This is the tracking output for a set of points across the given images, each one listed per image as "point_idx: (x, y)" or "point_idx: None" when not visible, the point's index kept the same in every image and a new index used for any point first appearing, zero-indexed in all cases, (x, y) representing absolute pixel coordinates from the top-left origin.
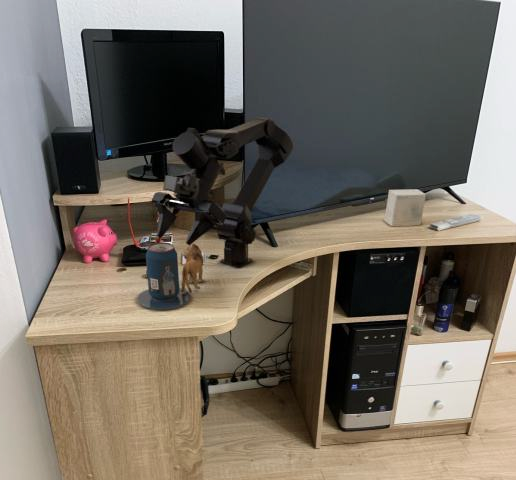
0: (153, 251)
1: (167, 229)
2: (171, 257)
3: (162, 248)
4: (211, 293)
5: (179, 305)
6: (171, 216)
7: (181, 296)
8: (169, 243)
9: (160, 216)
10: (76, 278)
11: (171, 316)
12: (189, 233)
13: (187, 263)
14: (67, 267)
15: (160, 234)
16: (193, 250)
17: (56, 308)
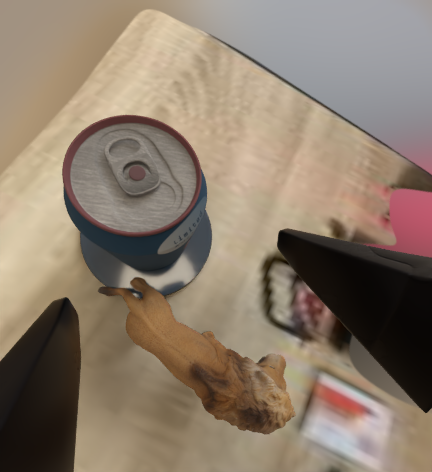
0: (107, 120)
1: (320, 296)
2: (64, 196)
3: (119, 171)
4: (108, 359)
5: (80, 240)
6: (415, 358)
7: (126, 270)
8: (159, 229)
9: (406, 260)
10: (329, 146)
11: (52, 204)
12: (39, 345)
13: (146, 314)
14: (379, 156)
15: (287, 244)
16: (237, 392)
17: (225, 70)
